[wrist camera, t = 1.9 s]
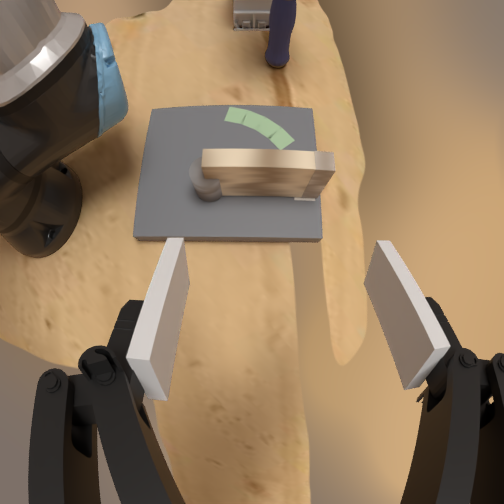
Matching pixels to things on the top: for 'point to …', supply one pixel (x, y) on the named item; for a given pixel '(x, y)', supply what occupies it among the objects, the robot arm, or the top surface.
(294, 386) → the top surface
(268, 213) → the board
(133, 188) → the top surface
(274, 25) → the rubber mallet
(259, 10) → the circuit breaker
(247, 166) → the wooden block
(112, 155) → the top surface
